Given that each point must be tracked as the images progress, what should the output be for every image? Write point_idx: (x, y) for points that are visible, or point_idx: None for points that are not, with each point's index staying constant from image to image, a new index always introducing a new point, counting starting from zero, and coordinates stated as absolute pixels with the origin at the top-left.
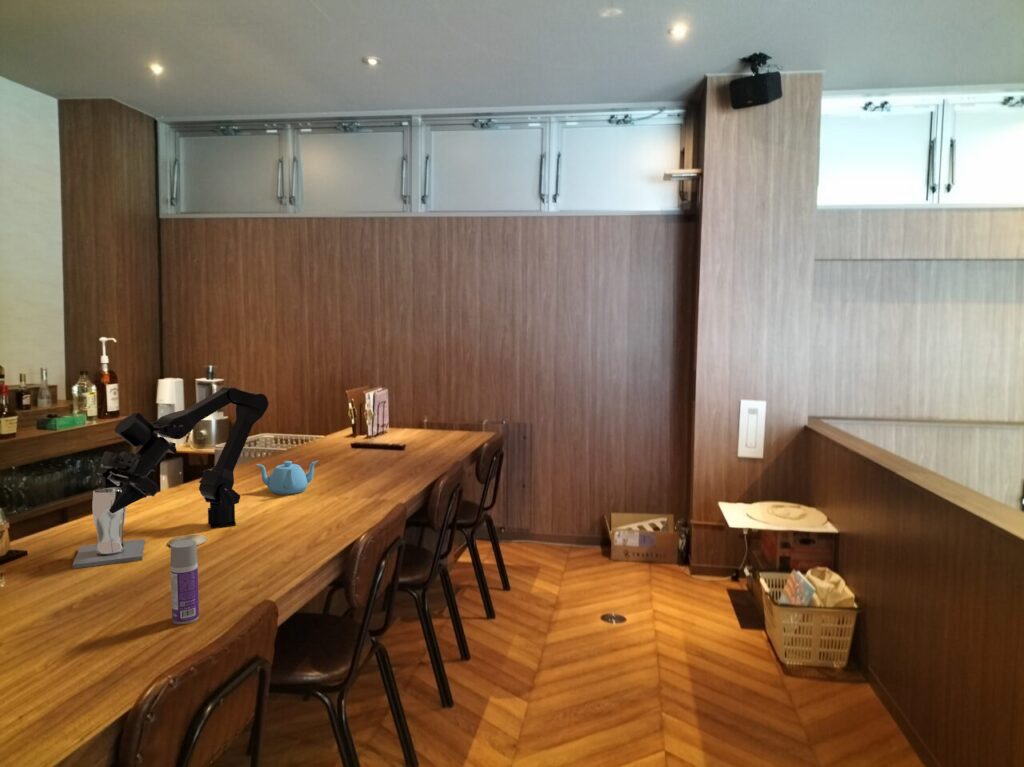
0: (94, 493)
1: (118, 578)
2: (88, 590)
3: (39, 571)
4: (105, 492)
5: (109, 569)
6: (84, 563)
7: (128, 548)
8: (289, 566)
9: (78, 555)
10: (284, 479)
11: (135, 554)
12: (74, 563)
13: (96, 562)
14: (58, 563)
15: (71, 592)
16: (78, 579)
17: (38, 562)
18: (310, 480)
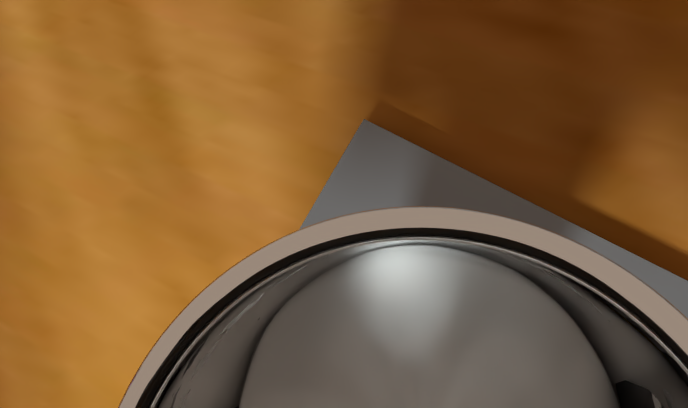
0: (412, 208)
1: (52, 213)
2: (35, 68)
3: (472, 6)
4: (173, 342)
5: (202, 245)
6: (334, 170)
7: None
8: None
9: (511, 205)
10: None
11: None
12: (375, 132)
13: (305, 223)
14: (532, 112)
15: (74, 16)
16: (195, 90)
17: (648, 46)
18: None
